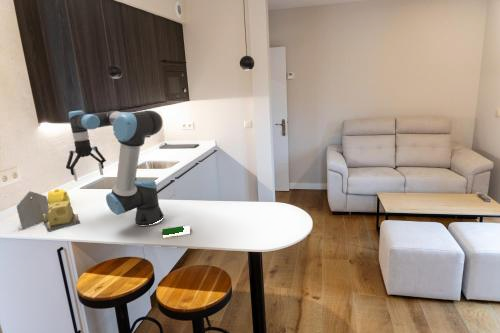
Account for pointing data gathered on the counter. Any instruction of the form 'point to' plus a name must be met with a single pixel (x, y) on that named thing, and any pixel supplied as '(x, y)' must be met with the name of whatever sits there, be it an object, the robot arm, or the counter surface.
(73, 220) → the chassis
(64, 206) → the cheese
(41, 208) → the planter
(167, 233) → the dish sponge
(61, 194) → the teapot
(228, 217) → the counter surface
